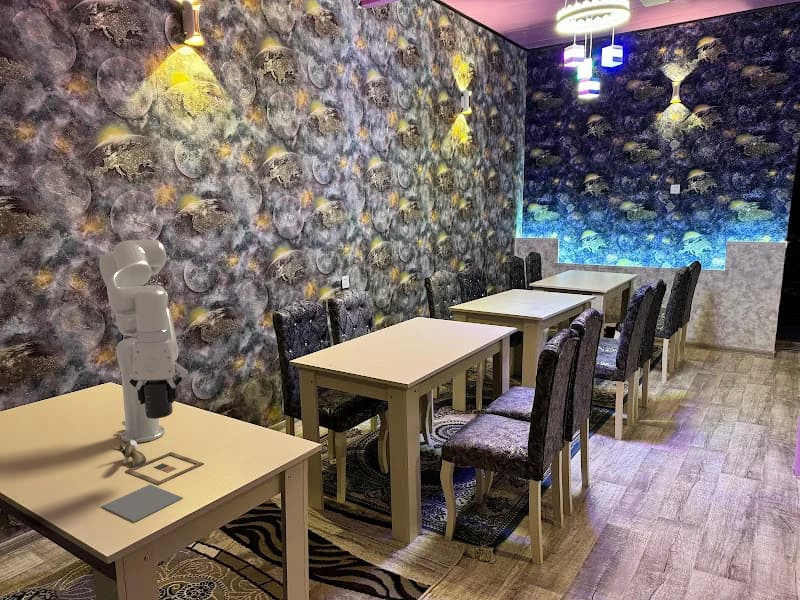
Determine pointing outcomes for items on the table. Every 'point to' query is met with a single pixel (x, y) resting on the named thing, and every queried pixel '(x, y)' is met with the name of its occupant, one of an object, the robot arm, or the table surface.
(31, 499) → the table surface
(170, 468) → the frame
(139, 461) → the eagle figurine
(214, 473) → the table surface
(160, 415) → the supplement bottle
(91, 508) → the table surface
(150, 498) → the mat
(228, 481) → the table surface
